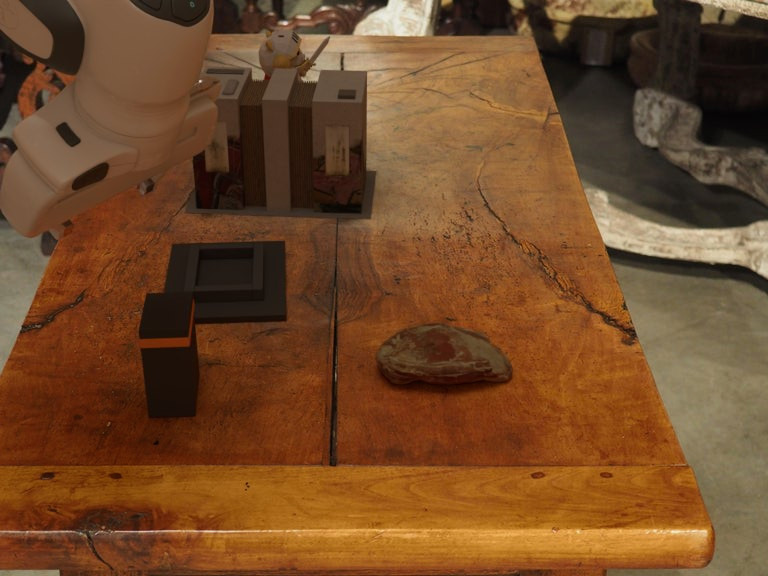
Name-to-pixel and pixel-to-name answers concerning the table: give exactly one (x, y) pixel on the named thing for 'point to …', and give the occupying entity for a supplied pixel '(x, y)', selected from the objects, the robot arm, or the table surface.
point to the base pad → (231, 280)
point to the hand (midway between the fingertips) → (102, 208)
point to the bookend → (286, 147)
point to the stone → (441, 356)
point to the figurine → (286, 53)
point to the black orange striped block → (169, 354)
